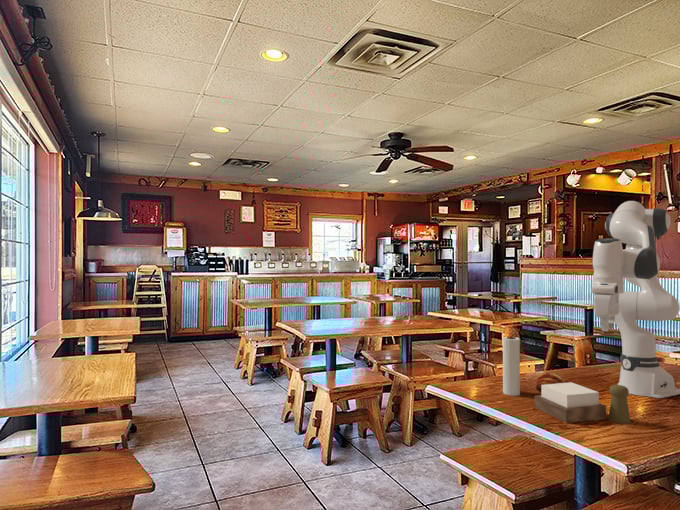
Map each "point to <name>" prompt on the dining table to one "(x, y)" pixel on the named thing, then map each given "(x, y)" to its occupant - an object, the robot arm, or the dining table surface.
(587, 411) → the tower base block
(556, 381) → the croissant
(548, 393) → the tower top block
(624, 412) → the olive green pawn
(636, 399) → the dining table surface
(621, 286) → the robot arm
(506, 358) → the paper towel roll
